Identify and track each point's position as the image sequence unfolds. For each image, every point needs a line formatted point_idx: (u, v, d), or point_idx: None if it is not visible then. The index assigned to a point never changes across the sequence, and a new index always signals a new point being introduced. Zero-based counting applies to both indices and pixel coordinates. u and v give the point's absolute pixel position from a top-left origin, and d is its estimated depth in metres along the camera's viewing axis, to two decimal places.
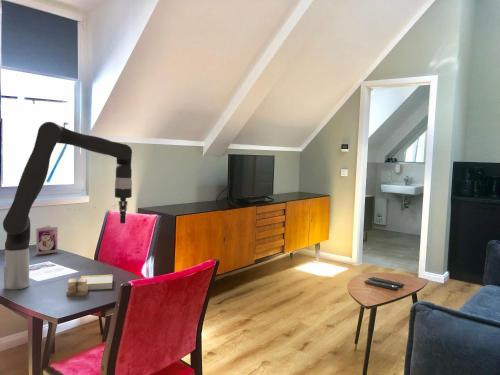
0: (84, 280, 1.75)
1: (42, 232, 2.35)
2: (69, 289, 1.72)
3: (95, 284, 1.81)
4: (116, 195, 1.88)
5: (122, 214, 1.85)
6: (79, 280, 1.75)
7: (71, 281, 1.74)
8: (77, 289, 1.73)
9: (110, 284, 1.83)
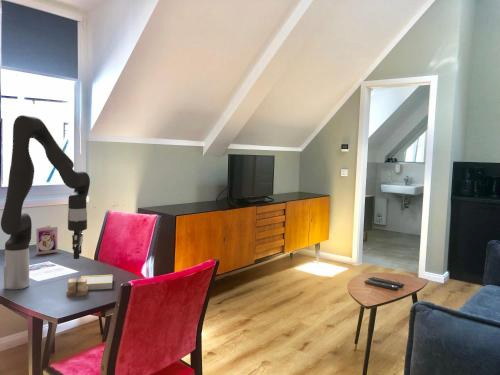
0: (84, 280, 1.75)
1: (42, 232, 2.35)
2: (69, 289, 1.72)
3: (95, 284, 1.81)
4: (69, 228, 1.70)
5: (75, 249, 1.67)
6: (79, 280, 1.75)
7: (71, 281, 1.74)
8: (77, 289, 1.73)
9: (110, 284, 1.83)
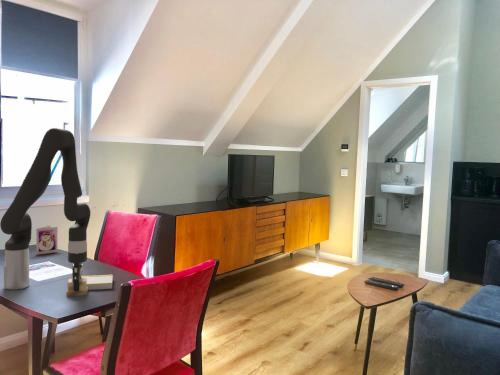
0: (84, 280, 1.75)
1: (42, 232, 2.35)
2: (69, 289, 1.72)
3: (95, 284, 1.81)
4: (69, 260, 1.71)
5: (75, 282, 1.69)
6: None
7: (71, 281, 1.74)
8: None
9: (110, 284, 1.83)
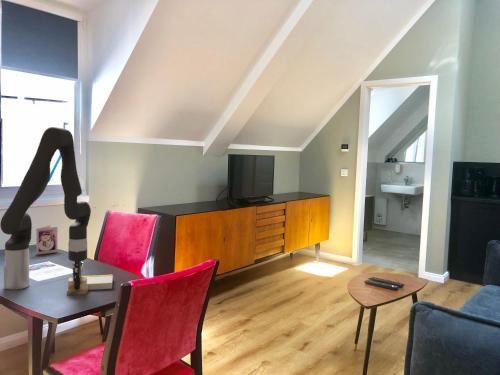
0: (84, 279, 1.76)
1: (42, 232, 2.35)
2: (69, 288, 1.73)
3: (95, 284, 1.81)
4: (69, 258, 1.72)
5: (76, 280, 1.71)
6: None
7: (71, 279, 1.75)
8: None
9: (110, 284, 1.83)
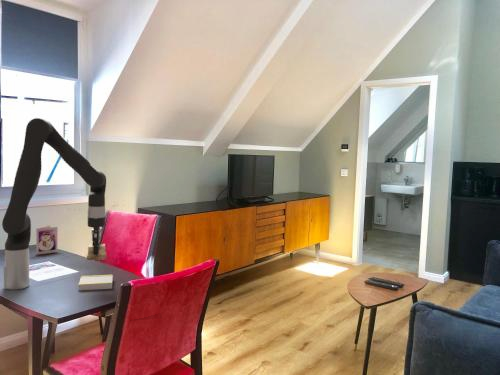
0: (103, 245, 1.86)
1: (42, 232, 2.35)
2: (89, 253, 1.83)
3: (95, 284, 1.81)
4: (89, 224, 1.82)
5: (95, 245, 1.80)
6: None
7: (91, 246, 1.84)
8: None
9: (110, 284, 1.83)
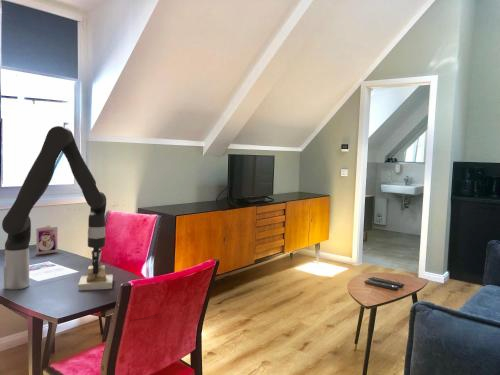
0: (103, 267, 1.86)
1: (42, 232, 2.35)
2: (89, 275, 1.83)
3: (95, 284, 1.81)
4: (89, 245, 1.83)
5: (95, 265, 1.80)
6: (98, 267, 1.86)
7: (90, 267, 1.85)
8: (96, 275, 1.84)
9: (110, 284, 1.83)
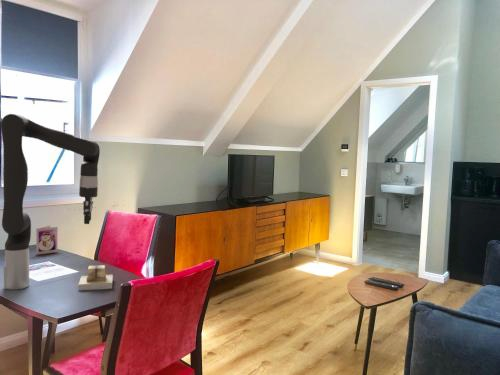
0: (103, 267, 1.86)
1: (42, 232, 2.35)
2: (89, 275, 1.83)
3: (95, 284, 1.81)
4: (80, 194, 1.79)
5: (86, 214, 1.76)
6: (98, 267, 1.86)
7: (90, 267, 1.85)
8: (96, 275, 1.84)
9: (110, 284, 1.83)
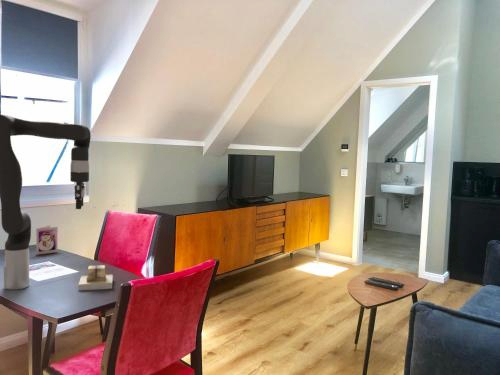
0: (103, 267, 1.86)
1: (42, 232, 2.35)
2: (89, 275, 1.83)
3: (95, 284, 1.81)
4: (71, 179, 1.76)
5: (77, 199, 1.73)
6: (98, 267, 1.86)
7: (90, 267, 1.85)
8: (96, 275, 1.84)
9: (110, 284, 1.83)
